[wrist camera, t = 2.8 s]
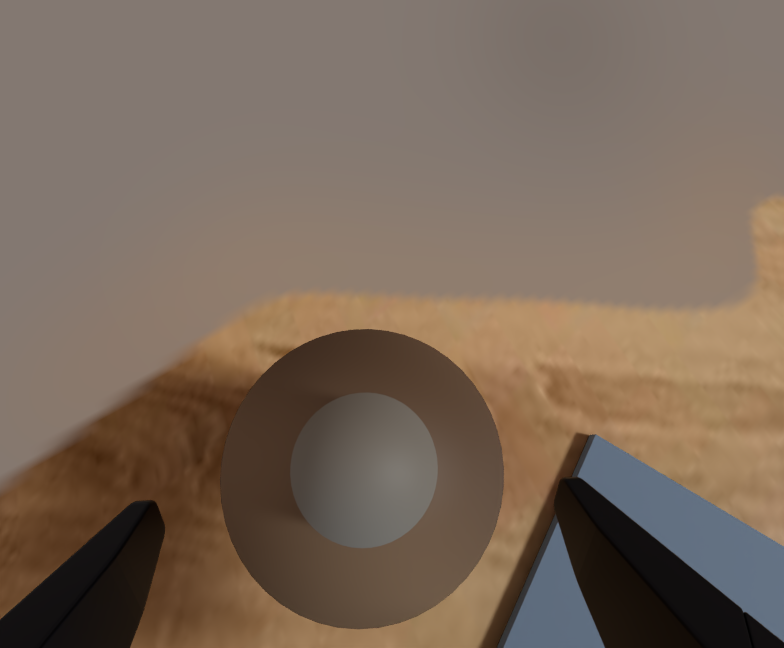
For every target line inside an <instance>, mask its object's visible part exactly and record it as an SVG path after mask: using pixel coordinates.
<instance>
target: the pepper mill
mask: <svg viewBox="0 0 784 648" xmlns="http://www.w3.org/2000/svg"><path fill="white" fill-rule="evenodd" d="M220 487H221V502H222V508H223V513H224V519H225V523H226V526H227V529H228V532H229V535H230V538H231V541H232V543H233V545H234V547H235V549H236V551H237V553H238V555H239V557H240V559H241V561H242V562H243V564H244V565H245V567H246V568H247V570H248V571H249V573H250V574H251V576H252V577H253V578H254V579H255V580H256V581H257V582H258V584H259V585H260V586H261V587H262V588H263V589H264V590H265V591H266V592H267V593H268V594H269V595H271V596H272V597H273V598H274V599H275V600H277V601H278V602H279V603H280V604H281V605H283V606H285V607H286V608H288V609H290V610H291V611H293V612H295V613H296V614H298V615H300V616H303V617H305V618H307V619H310V620H312V621H315V622H317V623H321V624H325V625H329V626H334V627H338V628H350V629H368V628H380V627H384V626H389V625H393V624H397V623H401V622H403V621H406V620H408V619H411V618H413V617H416V616H418V615H420V614H422V613H424V612H425V611H427V610H429V609H431V608H432V607H434V606H436V605H437V604H438V603H440V602H441V601H442V600H444V599H445V598H446V597H447V596H449V595H450V594H451V593H453V591H454V590H455V589H456V588H457V587H458V586H459V585H460V584H461V583H462V582H463V581H464V580H465V579H466V578H467V577H468V575H469V574H470V573H471V571H472V570H473V569H474V567H475V566H476V565H477V563H478V562H479V560H480V559H481V557H482V555H483V553H484V551H485V550H486V548H487V546H488V544H489V542H490V539H491V537H492V534H493V532H494V529H495V527H496V523H497V520H498V516H499V512H500V508H501V502H502V495H503V487H504V466H503V457H502V448H501V444H500V440H499V436H498V432H497V429H496V426H495V423H494V420H493V418H492V415H491V413H490V411H489V409H488V407H487V405H486V403H485V401H484V399H483V397H482V396H481V394H480V393H479V391H478V390H477V388H476V387H475V385H474V384H473V382H472V381H471V380H470V379H469V378H468V377H467V376H466V375H465V373H464V372H463V371H462V370H461V369H460V368H459V367H458V366H457V365H455V364H454V363H453V362H452V361H451V360H450V359H449V358H447V357H446V356H445V355H443V354H442V353H440V352H439V351H437V350H436V349H434V348H433V347H431V346H429V345H427V344H425V343H423V342H421V341H419V340H416V339H414V338H411V337H408V336H405V335H402V334H398V333H394V332H389V331H382V330H373V329H361V330H348V331H342V332H336V333H332V334H329V335H325V336H322V337H319V338H316V339H314V340H312V341H309V342H307V343H304V344H303V345H301V346H299V347H297V348H296V349H294V350H292V351H290V352H289V353H288V354H286V355H285V356H283V357H282V358H281V359H279V360H278V361H277V362H275V363H274V364H273V365H272V366H271V367H270V368H269V369H268V370H267V371H266V372H265V373H264V374H263V375H262V376H261V377H260V378H259V379H258V381H257V382H256V383H255V384H254V386H253V387H252V388H251V389H250V391H249V392H248V394H247V395H246V397H245V399H244V400H243V402H242V403H241V405H240V407H239V409H238V411H237V413H236V415H235V417H234V419H233V421H232V424H231V427H230V430H229V433H228V436H227V439H226V442H225V447H224V452H223V457H222V463H221V477H220Z"/></svg>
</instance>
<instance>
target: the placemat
mask: <svg viewBox="0 0 784 648" xmlns="http://www.w3.org/2000/svg"><path fill="white" fill-rule="evenodd" d="M572 477H580V478H582V479H583V480H584V481H586V482H587V483H588V484H589V485H591V486H592V487H593V488H594V489H595V490H597V491H598V492H599V493H600V494H602V495H603V496H604V497H605V498H607V499H608V500H609V501H610V502H611V503H613V504H614V505H615V506H616V507H618V508H619V509H620V510H621V511H623V512H624V513H625V514H626V515H627V516H629V517H630V518H631V519H632V520H634V521H635V522H636V523H637V524H639V525H640V526H641V527H642V528H643V529H645V530H646V531H647V532H648V533H650V534H651V535H652V536H653V537H655V538H656V539H657V540H658V541H659V542H661V543H662V544H663V545H664V546H666V547H667V548H668V549H669V550H671V551H672V552H673V553H674V554H675V555H677V556H678V557H679V558H680V559H682V560H683V561H684V562H685V563H687V564H688V565H689V566H690V567H691V568H693V569H694V570H695V571H696V572H698V573H699V574H700V575H701V576H703V577H704V578H705V579H706V580H707V581H709V582H710V583H711V584H712V585H714V586H715V587H716V588H717V589H719V590H720V591H721V592H722V593H723V594H725V595H726V596H727V597H728V598H730V599H731V600H732V601H733V602H735V603H736V604H737V605H738V606H739V607H741V608H742V610H743V612H747V613H748V614H749V615H751V616H752V617H753V618H754V619H756V620H757V621H758V622H759V623H761V624H762V625H763V626H764V627H765V628H767V629H768V630H769V631H770V632H772V633H773V634H774V635H776V636H777V637H778V638H779V639H781V640H782V641H783V642H784V547H783V546H782V545H780V544H778V543H777V542H775V541H773V540H772V539H770V538H768V537H767V536H765V535H763V534H762V533H760V532H758V531H757V530H755V529H753V528H752V527H750V526H748V525H747V524H745V523H743V522H742V521H740V520H738V519H737V518H735V517H733V516H732V515H730V514H728V513H726V512H725V511H723V510H721V509H720V508H718V507H716V506H715V505H713V504H711V503H710V502H708V501H706V500H705V499H703V498H701V497H700V496H698V495H696V494H695V493H693V492H691V491H690V490H688V489H686V488H685V487H683V486H681V485H680V484H678V483H676V482H675V481H673V480H671V479H670V478H668V477H666V476H665V475H663V474H661V473H660V472H658V471H656V470H654V469H653V468H651V467H649V466H648V465H646V464H644V463H643V462H641V461H639V460H638V459H636V458H634V457H633V456H631V455H629V454H628V453H626V452H624V451H623V450H621V449H619V448H618V447H616V446H614V445H613V444H611V443H609V442H608V441H606V440H604V439H603V438H601V437H599V436H598V435H596V434H595V435H590V436H589V438H588V440H587V443H586V445H585V447H584V450H583V452H582V454H581V456H580V459H579V461H578V463H577V466H576V468H575V470H574V472H573V475H572ZM497 648H605V647H604V645H603V642H602V640H601V637H600V635H599V633H598V630H597V628H596V626H595V623H594V621H593V619H592V616H591V614H590V612H589V609H588V607H587V604H586V602H585V600H584V597H583V595H582V593H581V590H580V588H579V585H578V583H577V580H576V577H575V574H574V571H573V568H572V565H571V562H570V559H569V555H568V552H567V549H566V546H565V543H564V539H563V536H562V533H561V530H560V527H559V523H558V520H557V517H556V514H555V516H554V518H553V520H552V523H551V525H550V527H549V530H548V532H547V534H546V536H545V539H544V541H543V543H542V546H541V548H540V550H539V552H538V555H537V557H536V559H535V562H534V564H533V566H532V568H531V571H530V573H529V575H528V578H527V580H526V582H525V584H524V587H523V589H522V591H521V594H520V596H519V598H518V600H517V603H516V605H515V607H514V610H513V612H512V614H511V616H510V619H509V621H508V623H507V626H506V628H505V630H504V632H503V635H502V637H501V639H500V642H499V644H498V646H497Z"/></svg>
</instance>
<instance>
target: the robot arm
mask: <svg viewBox="0 0 784 648" xmlns="http://www.w3.org/2000/svg"><path fill="white" fill-rule="evenodd" d="M554 510H555V514H556V517H557V520H558V523H559V527H560V530H561V533H562V536H563V539H564V543H565V546H566V549H567V552H568V555H569V559H570V562H571V565H572V568H573V571H574V574H575V577H576V580H577V583H578V585H579V588H580V590H581V593H582V595H583V597H584V600H585V602H586V604H587V607H588V609H589V612H590V614H591V616H592V619H593V621H594V623H595V626H596V628H597V630H598V633H599V635H600V637H601V640H602V642H603V645H604V647H605V648H784V642H783V641H782V640H781V639H779V638H778V637H777V636H776V635H774V634H773V633H772V632H770V631H769V630H768V629H767V628H765V627H764V626H763V625H762V624H761V623H759V622H758V621H757V620H756V619H754V618H753V617H752V616H751V615H749V614H748V613H747V612H743V610H742V608H741V607H739V606H738V605H737V604H736V603H735V602H733V601H732V600H731V599H730V598H728V597H727V596H726V595H725V594H723V593H722V592H721V591H720V590H719V589H717V588H716V587H715V586H714V585H712V584H711V583H710V582H709V581H707V580H706V579H705V578H704V577H703V576H701V575H700V574H699V573H698V572H696V571H695V570H694V569H693V568H691V567H690V566H689V565H688V564H687V563H685V562H684V561H683V560H682V559H680V558H679V557H678V556H677V555H675V554H674V553H673V552H672V551H671V550H669V549H668V548H667V547H666V546H664V545H663V544H662V543H661V542H659V541H658V540H657V539H656V538H655V537H653V536H652V535H651V534H650V533H648V532H647V531H646V530H645V529H643V528H642V527H641V526H640V525H639V524H637V523H636V522H635V521H634V520H632V519H631V518H630V517H629V516H627V515H626V514H625V513H624V512H623V511H621V510H620V509H619V508H618V507H616V506H615V505H614V504H613V503H611V502H610V501H609V500H608V499H607V498H605V497H604V496H603V495H602V494H600V493H599V492H598V491H597V490H595V489H594V488H593V487H592V486H591V485H589V484H588V483H587V482H586V481H584V480H583V479H582V478H580V477H564V478H562V479H561V480H560V482H559V486H558V489H557V493H556V496H555V500H554ZM164 534H165V525H164V521H163V519H162V516H161V514H160V511H159V508H158V506H157V503H156V502H155V501H153V500H146V501H135V502H133V503H131V504H130V505H129V506H128V507H126V508H125V509H124V510H123V511H122V512H121V513H120V514H119V515H117V516H116V517H115V518H114V519H113V520H112V521H111V522H110V523H108V524H107V525H106V526H105V527H104V528H103V529H102V530H101V531H99V532H98V533H97V534H96V535H95V536H94V537H93V538H92V539H90V540H89V541H88V542H87V543H86V544H85V545H84V546H83V547H81V548H80V549H79V550H78V551H77V552H76V553H75V554H74V555H72V556H71V557H70V558H69V559H68V560H67V561H66V562H64V563H63V564H62V565H61V566H60V567H59V568H58V569H57V570H55V571H54V572H53V573H52V574H51V575H50V576H49V577H48V578H46V579H45V580H44V581H43V582H42V583H41V584H40V585H39V586H37V587H36V588H35V589H34V590H33V591H32V592H31V593H30V594H28V595H27V596H26V597H25V598H24V599H23V600H22V601H21V602H19V603H18V604H17V605H16V606H15V607H14V608H13V609H12V610H10V611H9V612H8V613H7V614H6V615H5V616H4V617H3V618H1V619H0V648H130V646H131V644H132V641H133V638H134V636H135V633H136V630H137V628H138V625H139V622H140V619H141V617H142V614H143V611H144V607H145V604H146V601H147V597H148V594H149V590H150V586H151V583H152V579H153V575H154V572H155V568H156V564H157V561H158V557H159V553H160V550H161V546H162V542H163V539H164Z"/></svg>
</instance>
